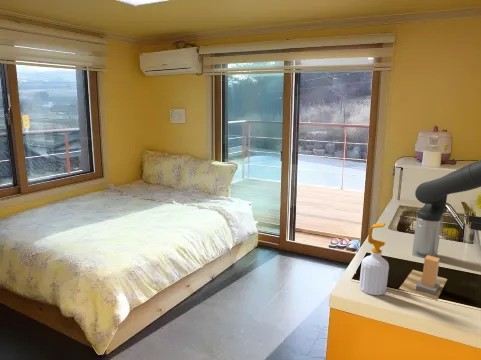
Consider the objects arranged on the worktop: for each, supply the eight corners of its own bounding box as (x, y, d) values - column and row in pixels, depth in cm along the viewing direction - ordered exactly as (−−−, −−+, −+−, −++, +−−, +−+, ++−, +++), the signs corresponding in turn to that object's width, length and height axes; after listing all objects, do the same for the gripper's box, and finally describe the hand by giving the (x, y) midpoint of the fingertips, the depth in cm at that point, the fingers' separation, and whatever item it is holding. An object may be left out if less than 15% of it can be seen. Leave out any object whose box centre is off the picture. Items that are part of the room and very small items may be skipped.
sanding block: (421, 280, 135) (425, 252, 133) (439, 286, 131) (444, 256, 129) (415, 289, 128) (419, 260, 126) (434, 295, 124) (439, 265, 122)
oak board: (412, 273, 144) (412, 269, 144) (446, 282, 137) (447, 278, 137) (398, 292, 129) (399, 288, 129) (436, 304, 122) (437, 300, 121)
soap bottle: (383, 298, 124) (391, 229, 119) (356, 291, 129) (362, 224, 124) (388, 288, 132) (396, 222, 127) (362, 281, 136) (369, 217, 132)
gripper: (528, 213, 117) (469, 205, 124) (539, 225, 104) (473, 216, 112) (524, 235, 118) (465, 227, 126) (534, 250, 106) (469, 239, 113)
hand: (469, 222), depth 119 cm, fingers open, 8 cm apart
